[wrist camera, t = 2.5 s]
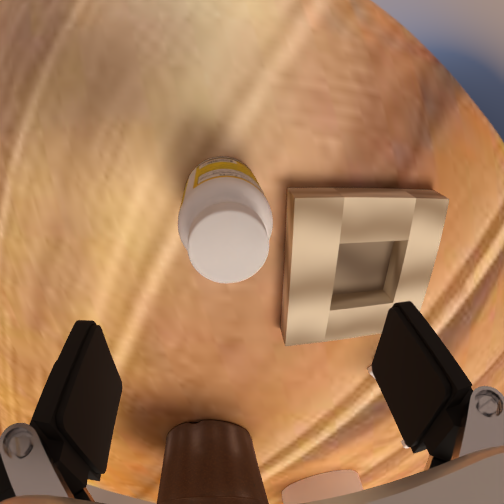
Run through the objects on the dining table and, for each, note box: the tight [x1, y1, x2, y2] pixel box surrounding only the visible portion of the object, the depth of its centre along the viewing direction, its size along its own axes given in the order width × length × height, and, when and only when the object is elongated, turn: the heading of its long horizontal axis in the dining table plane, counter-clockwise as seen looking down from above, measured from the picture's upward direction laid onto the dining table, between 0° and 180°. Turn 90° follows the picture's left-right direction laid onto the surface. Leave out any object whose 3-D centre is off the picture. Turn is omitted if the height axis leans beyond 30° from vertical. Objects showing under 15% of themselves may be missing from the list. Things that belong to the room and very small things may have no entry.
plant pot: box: [157, 420, 269, 504], centre depth 33 cm, size 16×16×16 cm
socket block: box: [280, 188, 449, 346], centre depth 27 cm, size 14×14×2 cm
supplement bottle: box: [178, 157, 273, 283], centre depth 20 cm, size 5×5×10 cm
